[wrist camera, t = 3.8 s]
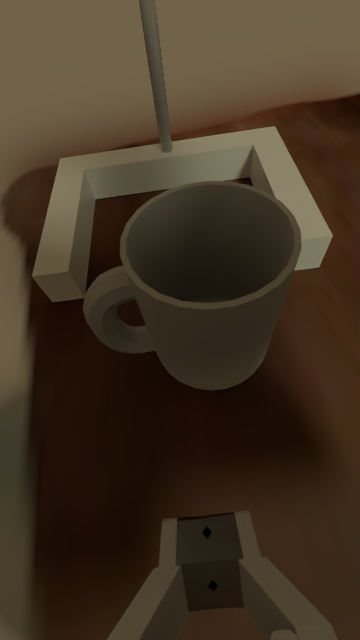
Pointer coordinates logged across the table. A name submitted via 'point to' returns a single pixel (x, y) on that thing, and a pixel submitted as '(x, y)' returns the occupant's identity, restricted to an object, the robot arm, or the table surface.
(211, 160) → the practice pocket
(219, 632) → the table surface
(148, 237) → the cup
